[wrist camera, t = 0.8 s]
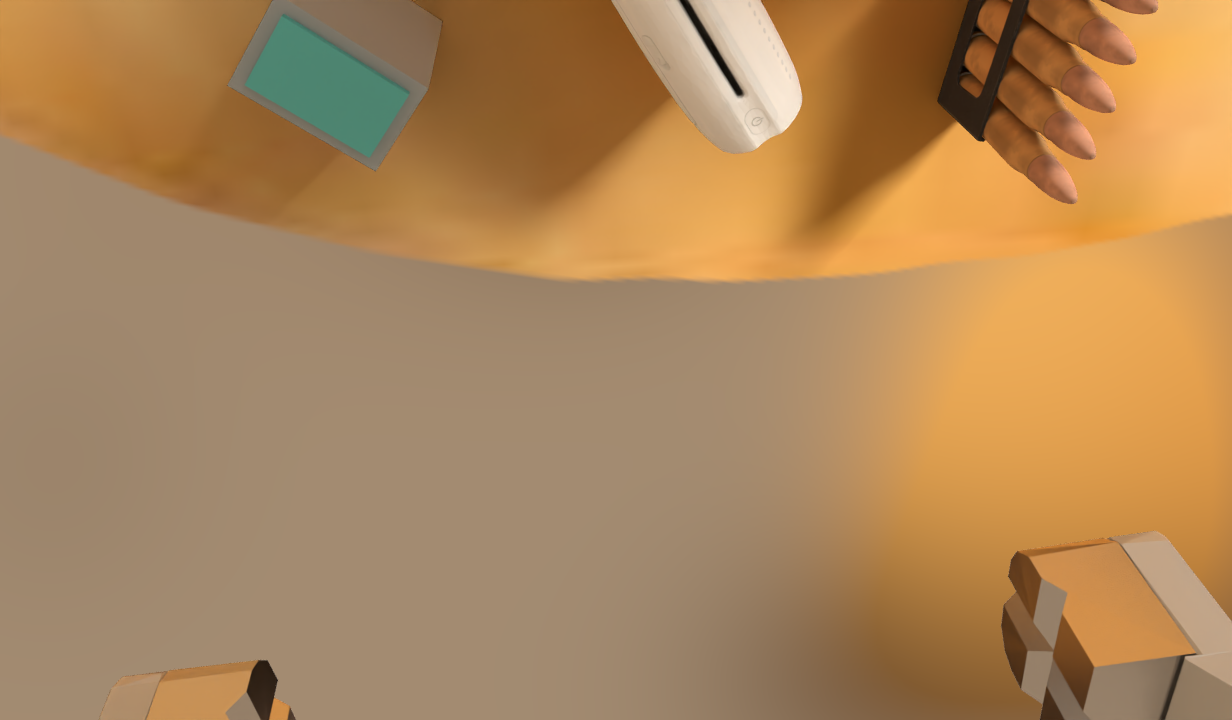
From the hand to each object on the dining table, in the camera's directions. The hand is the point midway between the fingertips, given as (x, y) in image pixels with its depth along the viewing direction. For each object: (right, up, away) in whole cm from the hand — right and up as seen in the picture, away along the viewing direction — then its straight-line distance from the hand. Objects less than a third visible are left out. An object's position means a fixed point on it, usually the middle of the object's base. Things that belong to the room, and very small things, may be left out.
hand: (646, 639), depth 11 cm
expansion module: (-11, +18, +32) cm, 39 cm away
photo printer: (+2, +21, +32) cm, 38 cm away
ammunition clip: (+16, +20, +34) cm, 42 cm away
